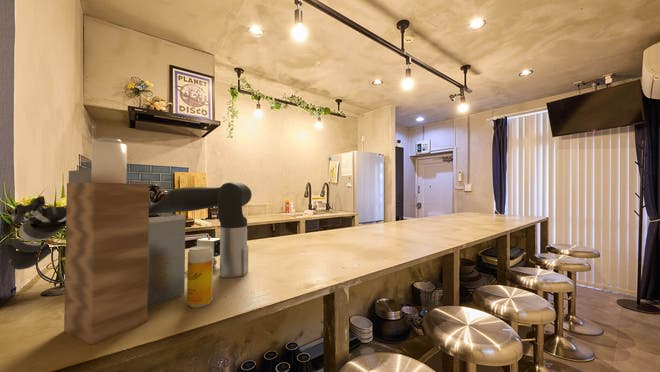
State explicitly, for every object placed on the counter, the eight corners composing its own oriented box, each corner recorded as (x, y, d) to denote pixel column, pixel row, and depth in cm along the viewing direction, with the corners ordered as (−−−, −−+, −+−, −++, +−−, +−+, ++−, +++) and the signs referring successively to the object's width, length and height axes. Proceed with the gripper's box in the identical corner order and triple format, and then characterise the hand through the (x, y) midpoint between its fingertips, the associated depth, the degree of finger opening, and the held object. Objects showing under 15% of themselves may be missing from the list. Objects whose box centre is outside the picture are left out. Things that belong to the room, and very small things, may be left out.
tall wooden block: (64, 330, 55) (66, 183, 55) (118, 310, 64) (120, 184, 64) (92, 345, 50) (95, 182, 50) (147, 321, 59) (149, 183, 59)
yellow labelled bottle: (185, 302, 69) (186, 247, 69) (209, 296, 72) (210, 244, 73) (189, 311, 64) (189, 251, 64) (214, 304, 68) (215, 248, 68)
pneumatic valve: (218, 269, 97) (218, 238, 97) (192, 267, 100) (192, 236, 100) (227, 265, 103) (227, 235, 103) (201, 263, 105) (202, 234, 105)
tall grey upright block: (125, 301, 69) (127, 216, 70) (163, 288, 79) (164, 213, 79) (147, 308, 65) (149, 218, 66) (184, 293, 74) (185, 214, 75)
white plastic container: (60, 183, 61) (61, 142, 61) (92, 184, 66) (93, 146, 66) (99, 183, 53) (100, 135, 53) (132, 183, 59) (132, 140, 59)
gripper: (79, 235, 77) (104, 209, 71) (4, 244, 64) (27, 214, 58) (73, 213, 78) (97, 186, 73) (-1, 217, 65) (21, 185, 60)
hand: (66, 198), depth 65 cm, fingers open, 8 cm apart
